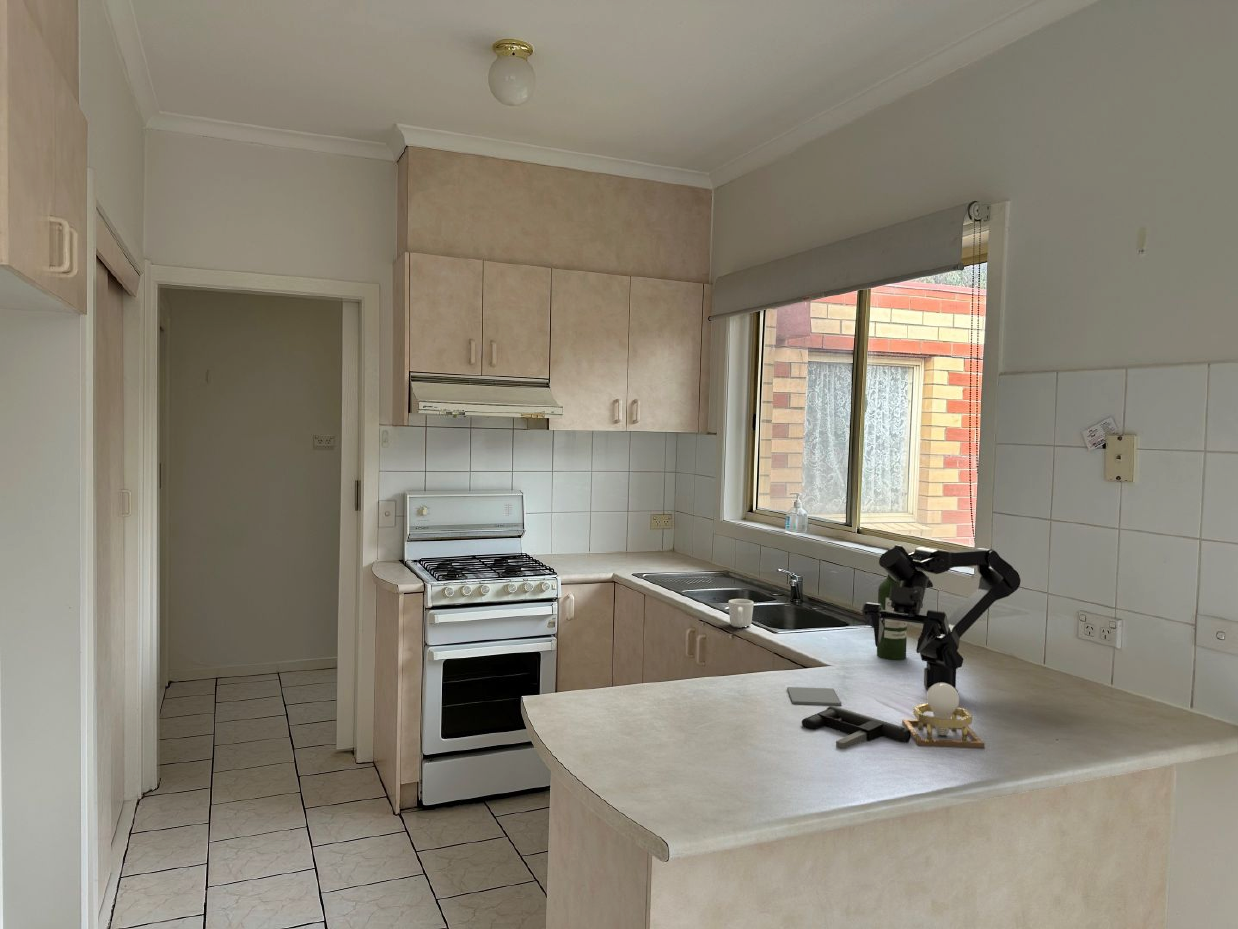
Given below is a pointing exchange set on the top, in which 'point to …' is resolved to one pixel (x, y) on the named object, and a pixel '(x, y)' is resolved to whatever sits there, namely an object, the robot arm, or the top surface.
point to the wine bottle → (891, 626)
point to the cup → (740, 612)
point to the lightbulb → (942, 703)
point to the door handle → (855, 726)
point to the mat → (813, 696)
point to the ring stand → (948, 723)
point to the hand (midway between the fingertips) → (896, 649)
